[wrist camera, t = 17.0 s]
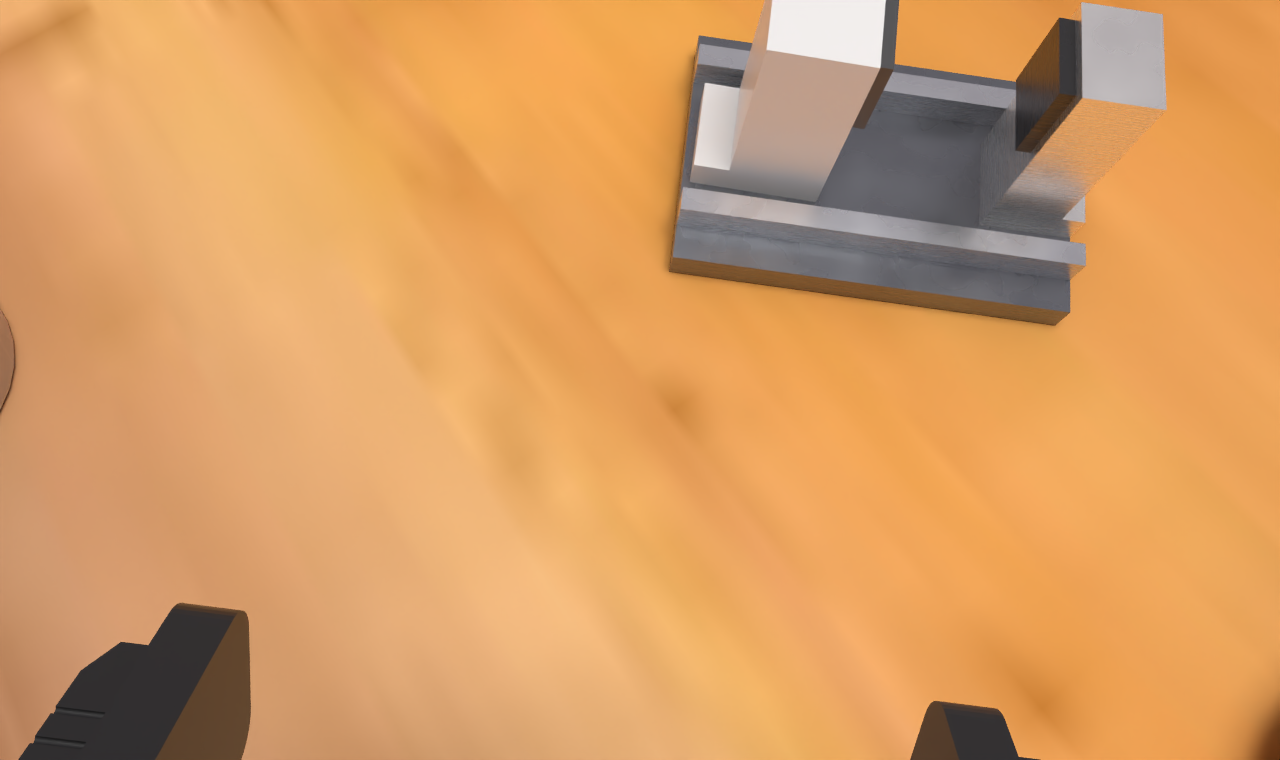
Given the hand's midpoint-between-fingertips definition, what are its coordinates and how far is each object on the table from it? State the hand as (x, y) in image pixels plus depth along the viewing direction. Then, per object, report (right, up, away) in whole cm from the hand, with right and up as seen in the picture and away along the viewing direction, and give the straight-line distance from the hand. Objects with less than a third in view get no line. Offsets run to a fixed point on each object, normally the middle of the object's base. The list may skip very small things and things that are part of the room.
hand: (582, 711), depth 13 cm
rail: (+11, +13, +37) cm, 41 cm away
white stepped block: (+7, +14, +36) cm, 39 cm away
